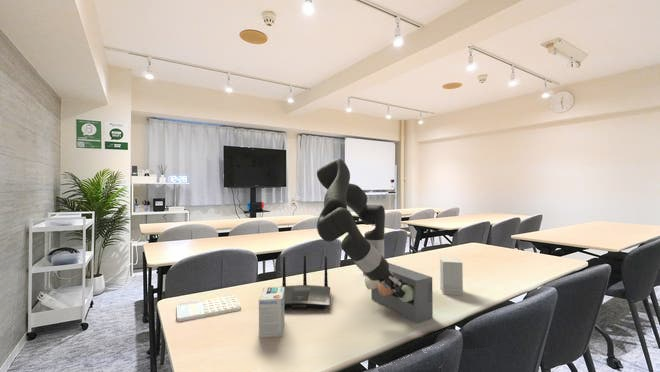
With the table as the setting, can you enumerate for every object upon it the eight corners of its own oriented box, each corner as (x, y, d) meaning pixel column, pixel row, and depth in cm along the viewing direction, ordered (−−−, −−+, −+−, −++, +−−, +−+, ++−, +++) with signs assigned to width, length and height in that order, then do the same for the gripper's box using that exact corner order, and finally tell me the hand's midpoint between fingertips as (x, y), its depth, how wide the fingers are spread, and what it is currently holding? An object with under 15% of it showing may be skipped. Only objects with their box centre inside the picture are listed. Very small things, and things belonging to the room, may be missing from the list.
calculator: (242, 311, 104) (242, 305, 104) (176, 323, 95) (176, 317, 95) (235, 298, 116) (235, 294, 116) (176, 308, 107) (176, 303, 107)
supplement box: (463, 295, 116) (462, 262, 116) (442, 294, 117) (442, 261, 117) (459, 289, 123) (458, 258, 123) (439, 288, 125) (439, 257, 125)
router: (267, 312, 102) (267, 268, 102) (279, 291, 123) (278, 255, 123) (329, 312, 102) (329, 268, 102) (330, 291, 122) (330, 255, 122)
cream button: (375, 284, 112) (375, 271, 112) (384, 288, 108) (384, 274, 108) (364, 287, 110) (364, 273, 110) (373, 291, 105) (373, 276, 105)
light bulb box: (263, 321, 95) (263, 287, 95) (285, 320, 95) (284, 286, 96) (258, 338, 84) (258, 299, 84) (282, 337, 85) (282, 298, 85)
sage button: (409, 296, 100) (409, 281, 100) (420, 301, 96) (420, 285, 96) (398, 299, 98) (397, 283, 98) (408, 304, 93) (408, 288, 93)
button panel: (386, 295, 116) (385, 261, 116) (432, 318, 96) (432, 277, 96) (371, 299, 113) (371, 264, 113) (416, 322, 93) (416, 280, 93)
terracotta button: (389, 290, 106) (388, 276, 106) (398, 295, 101) (398, 280, 101) (377, 293, 103) (377, 278, 103) (387, 298, 99) (386, 282, 99)
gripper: (350, 266, 94) (382, 298, 100) (376, 277, 82) (410, 313, 88) (364, 247, 97) (394, 280, 102) (391, 255, 85) (423, 291, 91)
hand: (401, 295), depth 95 cm, fingers closed
